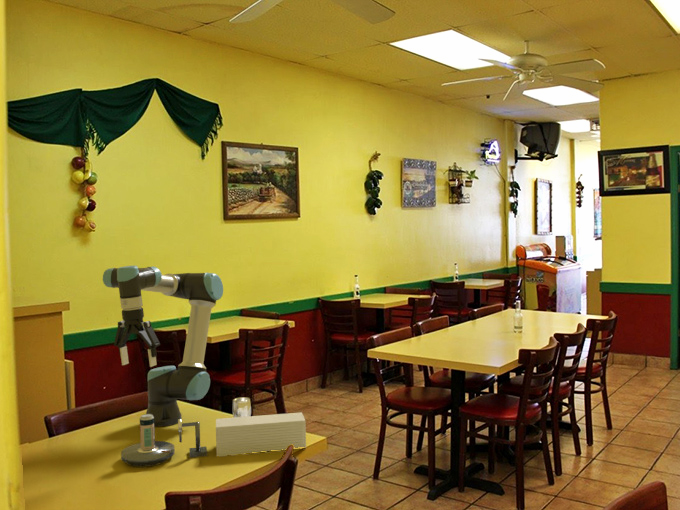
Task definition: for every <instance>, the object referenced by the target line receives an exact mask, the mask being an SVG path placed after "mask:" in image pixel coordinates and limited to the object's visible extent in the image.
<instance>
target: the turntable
mask: <svg viewBox="0 0 680 510" xmlns="http://www.w3.org/2000/svg"><path fill="white" fill-rule="evenodd" d="M174 455H175V445H174V444H173V443H172V442H168V441H159V440H155V448H153V449H152V450H149V451H143V450H142V449H141V442H138V443H135V444H132V445H129V446H127V447H125V448H123V449H122V450H121V451H120V459H121V461H122V462H124V463H125V464H128V463H129V464H150V463H155V462H160V461H163V460H166V459H168V460H169V459H170V458H172V457H173V456H174ZM166 461H167V460H166ZM129 464H128V465H129Z"/></svg>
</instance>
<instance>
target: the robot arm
mask: <svg viewBox="0 0 680 510" xmlns="http://www.w3.org/2000/svg"><path fill="white" fill-rule="evenodd" d="M102 282H103V284H104V286H105V287H107V288H112V289H116V288H118V291H119V300H120V309H122V310H121V317H122V320H120V321H117V330H116V333H115V338H114V342H113V346H114V347H117V348H118V351H119V356H120V359H121V366H126V365H128V364H130V362H129V354H128V346H127V344H126V343H127V341H128V340H129V338H130V336H131V335H133V334H134V335H138V336H140V338H141V339H142V340H143V342H144V343H145V344H146V345H147V347H148V349H147V353H148V361H149V367H150V368H151V369H150V370H149V371H148V372H147V380H146V381H147V396H148V397H147V398H148V404H147V408H146V413H145V414H152V415H153V417H154V427H167V426H172V425H175V424H178V419H182V417H183V416H182V413H181V410H180V408H179V405H178V400H187V401H188V400H189V401H198V400H199V401H200V400H201V399H203V398H204V397H205V396H206V394H207V393H208V391H209V389H210V386H211V378H210V374H209V373H208V372H207V367H206V366H205V364H204V361H205V355H206V349H207V348H206V347H207V341H208V337H209V336H208V335H209V334H208V333H209V327H210V321H211V314H212V309H213V308H214V307H215V306H216V305H217V301H219V300H221V298H222V297H223V296H224V295H223V294H224V283H223V281H222V279H221V277H220V276H219V275H218V274H216V273H215V272H198V273H197V272H183V273H166V274H162V272H161V270H160V269H159V268H158V267H156V266H147V267H138V266H137V265H125V266H120V267H117V268H116V267H112V268H106V270H104V272H103V274H102ZM142 291H146V292H153V293H160V294H162V295H164V296H167V297H173V298H178V299H182V300H188V303H189V305H190V306H191V307H190V313H189V319H188V325H187V333H186V339H185V346H184V351H183V357H182V362H181V363H179V364H178V366H177V368H176V366H175V365H165V366H161V367H156V368H153V369H152V367H154V366H157V355H158V354H157V347H159V346H161V343H160V340H159V338H158V336H157V335H156V333H155V331H154V328H153V327H152V323H151V321H150V320H147V321H144V318H145V313H144V308H143V297H142ZM182 420H183V419H182Z"/></svg>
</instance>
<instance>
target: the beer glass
mask: <svg viewBox="0 0 680 510" xmlns="http://www.w3.org/2000/svg"><path fill="white" fill-rule="evenodd" d="M251 415H252V406H251V398H250V397H247V396H246V397H244V396H243V397H242V396H240V397H236V398H234V399H232V418H235V417H248V416H251Z"/></svg>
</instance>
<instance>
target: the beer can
mask: <svg viewBox="0 0 680 510" xmlns="http://www.w3.org/2000/svg"><path fill="white" fill-rule="evenodd" d="M139 433H140V434H139V440H140V442H139V443H141V449H142V450H143V451H149V450H152V449H153V448H155V441H156V440H155V439H156V438H155V426H154V417H153V415H152V414H146V413H145V414H142V415H140V417H139Z"/></svg>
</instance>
